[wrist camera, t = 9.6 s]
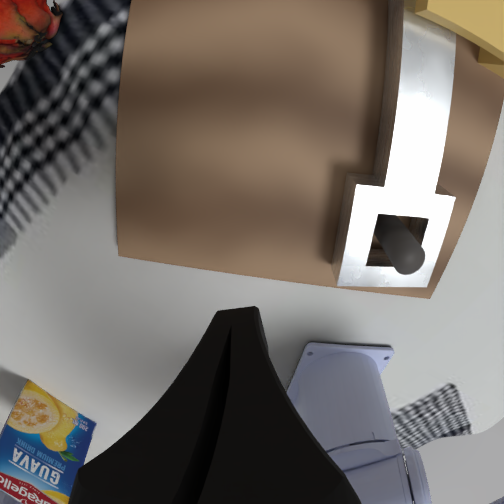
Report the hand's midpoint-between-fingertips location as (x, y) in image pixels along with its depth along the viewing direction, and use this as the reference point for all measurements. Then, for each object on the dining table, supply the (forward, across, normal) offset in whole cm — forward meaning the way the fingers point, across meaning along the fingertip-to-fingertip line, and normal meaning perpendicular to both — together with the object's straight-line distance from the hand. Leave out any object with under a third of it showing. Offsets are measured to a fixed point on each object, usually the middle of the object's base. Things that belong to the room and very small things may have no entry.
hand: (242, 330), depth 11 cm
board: (+10, -5, -5) cm, 12 cm away
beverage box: (+10, +32, +22) cm, 40 cm away
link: (+9, -9, -4) cm, 13 cm away
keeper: (+9, -14, -10) cm, 19 cm away
